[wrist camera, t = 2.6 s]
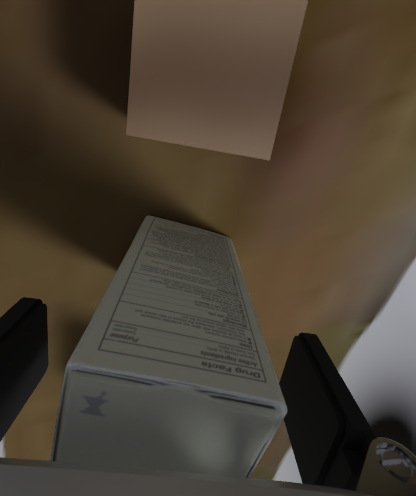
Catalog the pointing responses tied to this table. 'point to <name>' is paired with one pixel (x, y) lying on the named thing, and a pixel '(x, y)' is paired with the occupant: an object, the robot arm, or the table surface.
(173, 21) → the tan cube
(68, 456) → the box
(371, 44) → the table surface
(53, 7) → the table surface
